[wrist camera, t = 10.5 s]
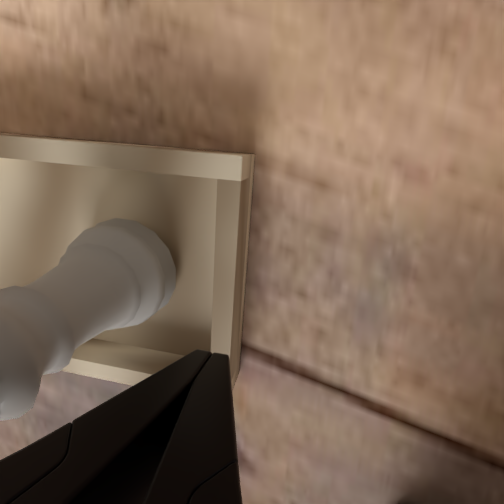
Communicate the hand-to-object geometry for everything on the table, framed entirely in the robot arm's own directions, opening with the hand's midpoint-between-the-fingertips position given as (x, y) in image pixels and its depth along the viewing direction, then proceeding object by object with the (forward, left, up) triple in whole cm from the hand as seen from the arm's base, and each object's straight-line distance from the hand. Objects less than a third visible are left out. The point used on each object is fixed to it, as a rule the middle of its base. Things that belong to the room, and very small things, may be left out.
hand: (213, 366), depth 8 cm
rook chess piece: (+5, 0, -6) cm, 8 cm away
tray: (+9, 0, -6) cm, 11 cm away
